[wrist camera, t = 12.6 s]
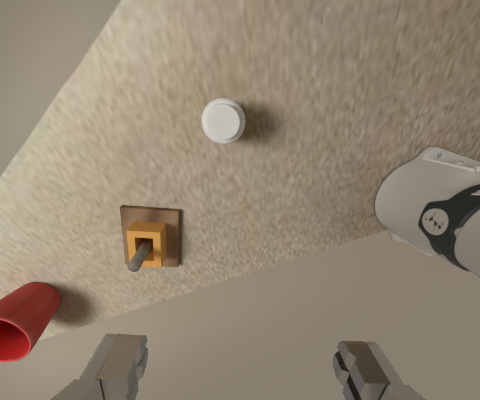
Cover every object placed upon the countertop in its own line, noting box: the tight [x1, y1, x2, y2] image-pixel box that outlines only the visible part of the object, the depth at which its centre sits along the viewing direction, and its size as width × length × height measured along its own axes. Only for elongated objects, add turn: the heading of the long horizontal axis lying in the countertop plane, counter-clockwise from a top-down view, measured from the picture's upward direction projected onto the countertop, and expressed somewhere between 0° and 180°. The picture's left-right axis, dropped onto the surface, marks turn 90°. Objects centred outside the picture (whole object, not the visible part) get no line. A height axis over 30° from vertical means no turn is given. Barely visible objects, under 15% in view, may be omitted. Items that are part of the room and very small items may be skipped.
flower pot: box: [0, 282, 61, 362], centre depth 41 cm, size 11×11×10 cm
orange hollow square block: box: [127, 221, 167, 267], centre depth 39 cm, size 5×7×4 cm
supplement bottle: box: [202, 98, 245, 144], centre depth 30 cm, size 6×6×10 cm
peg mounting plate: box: [120, 205, 180, 272], centre depth 38 cm, size 10×12×9 cm
